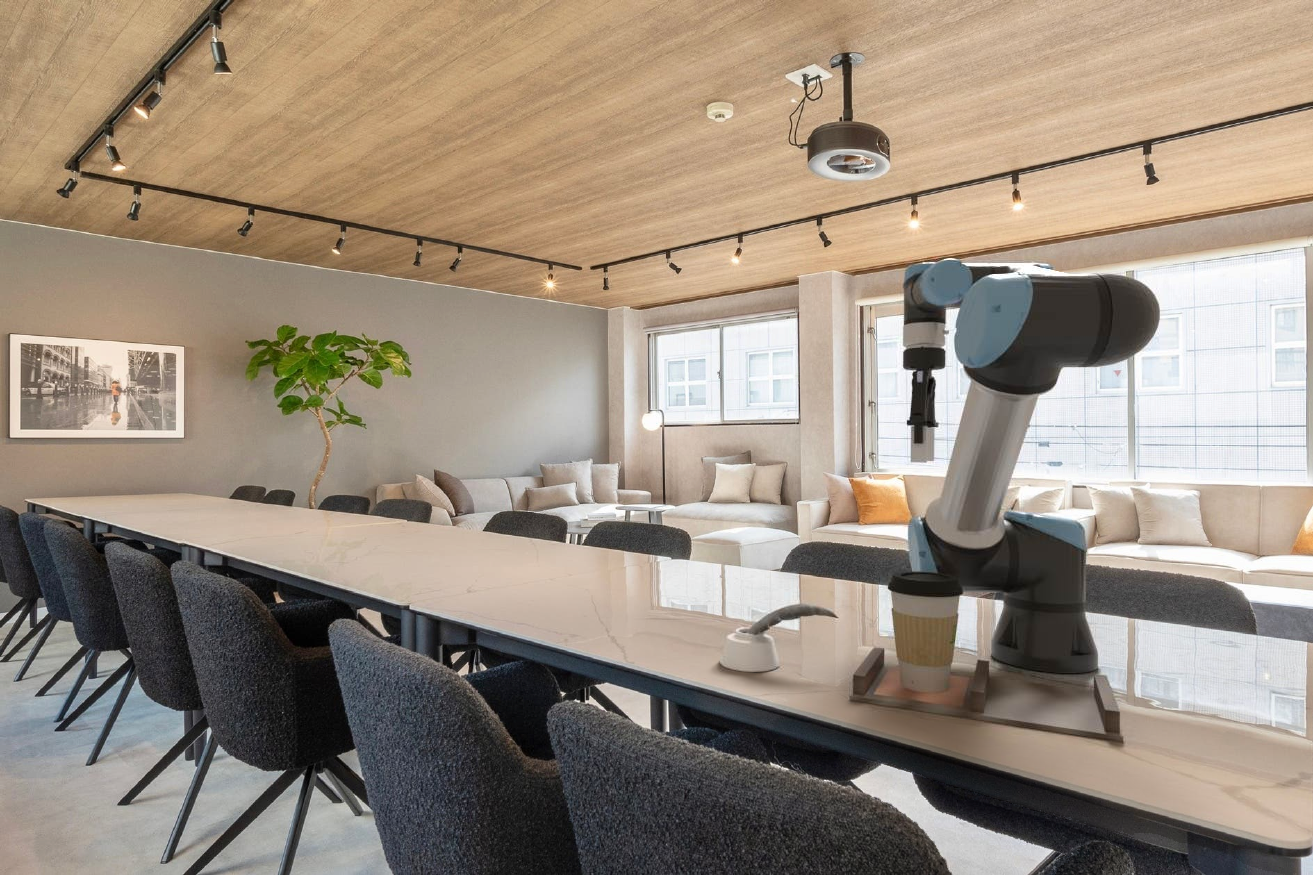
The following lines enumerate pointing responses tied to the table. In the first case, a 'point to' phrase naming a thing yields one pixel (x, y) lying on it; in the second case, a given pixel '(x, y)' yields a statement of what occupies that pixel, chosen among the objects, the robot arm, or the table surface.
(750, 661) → the inkwell
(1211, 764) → the table surface
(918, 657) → the coffee cup
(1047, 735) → the table surface
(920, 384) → the robot arm
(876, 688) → the slot rack
